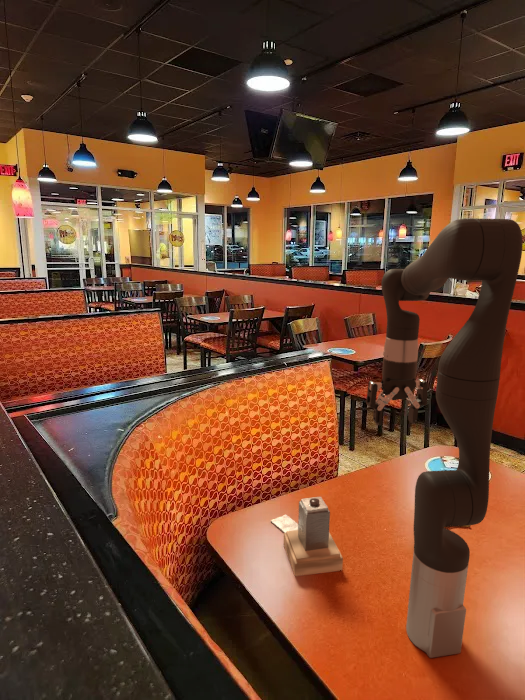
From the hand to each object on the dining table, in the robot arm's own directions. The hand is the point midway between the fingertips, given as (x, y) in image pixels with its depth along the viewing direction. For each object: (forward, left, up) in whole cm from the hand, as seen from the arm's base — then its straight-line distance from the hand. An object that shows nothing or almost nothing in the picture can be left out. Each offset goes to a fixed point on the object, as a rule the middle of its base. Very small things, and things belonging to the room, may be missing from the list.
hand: (395, 423), depth 108 cm
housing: (-5, +21, -26) cm, 34 cm away
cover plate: (+8, +24, -31) cm, 40 cm away
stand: (-5, +21, -30) cm, 37 cm away
